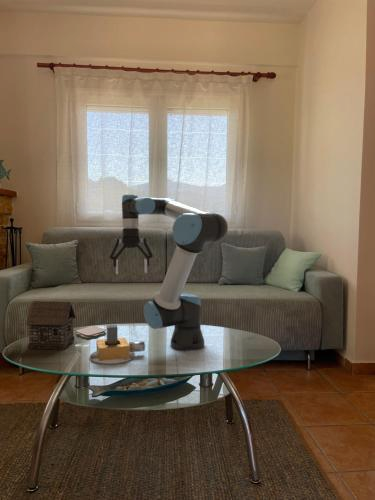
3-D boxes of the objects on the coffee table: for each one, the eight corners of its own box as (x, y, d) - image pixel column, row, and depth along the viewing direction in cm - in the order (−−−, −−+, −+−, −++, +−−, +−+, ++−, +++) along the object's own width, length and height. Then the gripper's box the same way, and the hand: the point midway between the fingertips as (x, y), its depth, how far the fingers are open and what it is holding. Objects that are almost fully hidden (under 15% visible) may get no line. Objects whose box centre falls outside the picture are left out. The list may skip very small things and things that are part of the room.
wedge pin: (116, 352, 175) (116, 324, 174) (117, 355, 171) (117, 326, 170) (106, 353, 174) (106, 325, 173) (107, 356, 170) (107, 327, 169)
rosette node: (140, 348, 185) (140, 334, 185) (148, 361, 168) (148, 346, 167) (88, 352, 179) (88, 338, 178) (91, 366, 162) (91, 351, 161)
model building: (25, 349, 183) (24, 304, 181) (39, 340, 197) (38, 297, 196) (66, 350, 182) (65, 304, 180) (77, 340, 196) (76, 298, 194)
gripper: (155, 227, 204) (155, 271, 205) (102, 228, 197) (103, 273, 198) (158, 227, 197) (159, 272, 198) (104, 228, 190) (105, 275, 191)
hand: (131, 273), depth 198 cm, fingers open, 13 cm apart
